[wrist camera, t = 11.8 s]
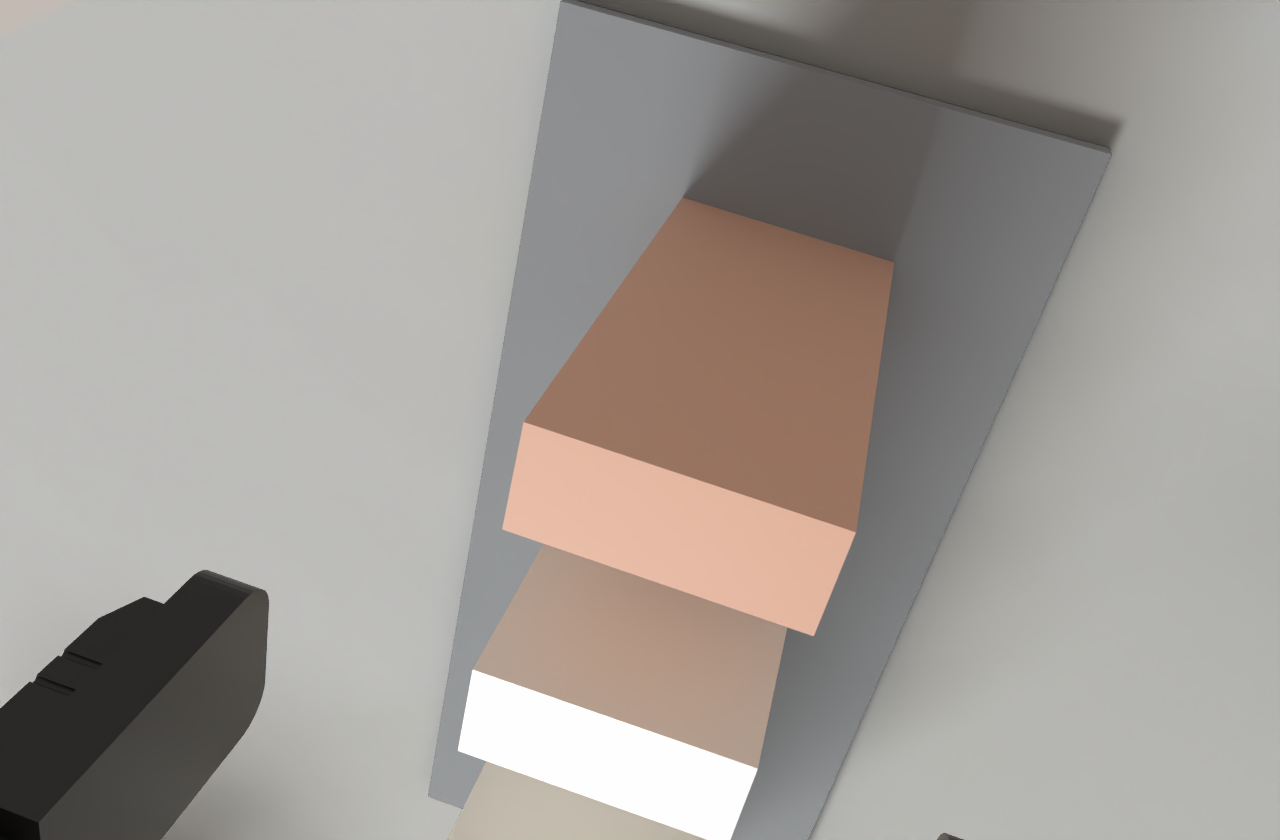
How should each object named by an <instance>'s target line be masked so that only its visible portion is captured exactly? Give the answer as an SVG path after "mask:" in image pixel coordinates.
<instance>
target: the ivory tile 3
mask: <svg viewBox="0 0 1280 840" xmlns="http://www.w3.org/2000/svg"><path fill="white" fill-rule="evenodd" d="M447 840H707V839H704V838H702V837H699V836H696V835H693V834H690V833H687V832H685V831H682V830H679V829H676V828H673V827H671V826H668V825H665V824H662V823H659V822H657V821H654V820H651V819H648V818H645V817H643V816H640V815H637V814H634V813H631V812H628V811H626V810H623V809H620V808H617V807H614V806H612V805H609V804H606V803H603V802H600V801H598V800H595V799H592V798H589V797H586V796H584V795H581V794H578V793H575V792H572V791H570V790H567V789H564V788H561V787H558V786H555V785H553V784H550V783H547V782H544V781H541V780H539V779H536V778H533V777H530V776H527V775H525V774H522V773H519V772H516V771H513V770H511V769H508V768H505V767H502V766H499V765H496V764H494V763H491V762H488V761H486V763H485V765H484V767H483V769H482V771H481V773H480V775H479V777H478V779H477V781H476V783H475V785H474V787H473V789H472V791H471V793H470V795H469V797H468V799H467V801H466V803H465V805H464V807H463V809H462V811H461V813H460V815H459V817H458V819H457V821H456V823H455V825H454V827H453V829H452V831H451V833H450V835H449V837H448V839H447Z"/></svg>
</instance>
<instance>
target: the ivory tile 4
mask: <svg viewBox="0 0 1280 840" xmlns="http://www.w3.org/2000/svg"><path fill="white" fill-rule="evenodd" d="M786 631H787V627H785V626H782V625H779V624H776V623H773V622H771V621H768V620H765V619H762V618H759V617H756V616H753V615H750V614H747V613H744V612H741V611H738V610H736V609H733V608H730V607H727V606H724V605H721V604H718V603H715V602H712V601H709V600H706V599H703V598H701V597H698V596H695V595H692V594H689V593H686V592H683V591H680V590H677V589H674V588H671V587H668V586H666V585H663V584H660V583H657V582H654V581H651V580H648V579H645V578H642V577H639V576H636V575H634V574H631V573H628V572H625V571H622V570H619V569H616V568H613V567H610V566H607V565H604V564H601V563H599V562H596V561H593V560H590V559H587V558H584V557H581V556H578V555H575V554H572V553H569V552H566V551H564V550H561V549H558V548H555V547H552V546H549V545H546V544H543V546H542V547H541V549H540V551H539V553H538V554H537V556H536V558H535V560H534V562H533V563H532V565H531V567H530V569H529V570H528V572H527V574H526V576H525V578H524V579H523V581H522V583H521V585H520V586H519V588H518V590H517V592H516V593H515V595H514V597H513V599H512V601H511V602H510V604H509V606H508V608H507V609H506V611H505V613H504V615H503V617H502V618H501V620H500V622H499V624H498V625H497V627H496V629H495V631H494V633H493V634H492V636H491V638H490V640H489V641H488V643H487V645H486V647H485V648H484V650H483V652H482V654H481V656H480V657H479V659H478V661H477V663H476V664H475V666H474V668H473V670H472V676H471V681H470V687H469V692H468V698H467V703H466V709H465V714H464V720H463V725H462V731H461V736H460V742H459V747H458V751H460V752H463V753H466V754H468V755H471V756H474V757H477V758H480V759H482V760H485V761H488V762H491V763H494V764H496V765H499V766H502V767H505V768H508V769H511V770H513V771H516V772H519V773H522V774H525V775H527V776H530V777H533V778H536V779H539V780H541V781H544V782H547V783H550V784H553V785H555V786H558V787H561V788H564V789H567V790H570V791H572V792H575V793H578V794H581V795H584V796H586V797H589V798H592V799H595V800H598V801H600V802H603V803H606V804H609V805H612V806H614V807H617V808H620V809H623V810H626V811H628V812H631V813H634V814H637V815H640V816H643V817H645V818H648V819H651V820H654V821H657V822H659V823H662V824H665V825H668V826H671V827H673V828H676V829H679V830H682V831H685V832H687V833H690V834H693V835H696V836H699V837H702V838H704V839H707V840H730V839H731V837H732V834H733V831H734V829H735V826H736V824H737V821H738V819H739V816H740V813H741V811H742V808H743V806H744V803H745V801H746V798H747V795H748V793H749V790H750V788H751V785H752V783H753V780H754V777H755V775H756V772H757V770H758V766H759V761H760V756H761V751H762V746H763V742H764V737H765V732H766V727H767V722H768V718H769V713H770V708H771V703H772V698H773V694H774V689H775V684H776V679H777V674H778V670H779V665H780V660H781V655H782V650H783V646H784V641H785V636H786Z"/></svg>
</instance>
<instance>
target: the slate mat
mask: <svg viewBox="0 0 1280 840" xmlns="http://www.w3.org/2000/svg"><path fill="white" fill-rule="evenodd" d="M1111 155H1112V154H1111V152H1110V149H1109V148H1107V147H1103V146H1100V145H1096V144H1092V143H1089V142H1085V141H1082V140H1078V139H1074V138H1071V137H1067V136H1064V135H1060V134H1056V133H1053V132H1049V131H1046V130H1042V129H1038V128H1035V127H1031V126H1028V125H1024V124H1020V123H1017V122H1013V121H1010V120H1006V119H1002V118H999V117H995V116H992V115H988V114H984V113H981V112H977V111H974V110H970V109H966V108H963V107H959V106H956V105H952V104H948V103H945V102H941V101H937V100H934V99H930V98H927V97H923V96H919V95H916V94H912V93H909V92H905V91H901V90H898V89H894V88H891V87H887V86H883V85H880V84H876V83H873V82H869V81H865V80H862V79H858V78H855V77H851V76H847V75H844V74H840V73H837V72H833V71H829V70H826V69H822V68H819V67H815V66H811V65H808V64H804V63H800V62H797V61H793V60H790V59H786V58H782V57H779V56H775V55H772V54H768V53H764V52H761V51H757V50H754V49H750V48H746V47H743V46H739V45H736V44H732V43H728V42H725V41H721V40H718V39H714V38H710V37H707V36H703V35H700V34H696V33H692V32H689V31H685V30H682V29H678V28H674V27H671V26H667V25H664V24H660V23H656V22H653V21H649V20H645V19H642V18H638V17H635V16H631V15H627V14H624V13H620V12H617V11H613V10H609V9H606V8H602V7H599V6H595V5H591V4H588V3H584V2H581V1H577V0H562V1H561V2H560V8H559V14H558V20H557V26H556V32H555V38H554V44H553V50H552V56H551V62H550V68H549V73H548V79H547V85H546V91H545V97H544V103H543V109H542V115H541V121H540V127H539V133H538V139H537V145H536V151H535V157H534V163H533V169H532V175H531V181H530V187H529V193H528V199H527V205H526V211H525V217H524V223H523V229H522V235H521V241H520V247H519V253H518V259H517V265H516V271H515V277H514V283H513V289H512V295H511V301H510V307H509V313H508V319H507V325H506V331H505V337H504V343H503V349H502V355H501V361H500V367H499V373H498V379H497V385H496V391H495V397H494V403H493V409H492V415H491V421H490V427H489V433H488V439H487V445H486V451H485V457H484V463H483V469H482V475H481V481H480V487H479V493H478V499H477V505H476V511H475V517H474V523H473V529H472V535H471V541H470V547H469V553H468V559H467V565H466V571H465V577H464V583H463V589H462V595H461V601H460V607H459V613H458V619H457V625H456V631H455V637H454V643H453V649H452V655H451V661H450V667H449V673H448V679H447V685H446V691H445V697H444V703H443V709H442V715H441V721H440V727H439V733H438V739H437V745H436V751H435V757H434V763H433V769H432V775H431V781H430V787H429V793H428V797H431V798H433V799H436V800H439V801H442V802H444V803H447V804H450V805H453V806H456V807H458V808H461V809H463V807H464V805H465V803H466V801H467V799H468V797H469V795H470V793H471V791H472V789H473V787H474V785H475V783H476V781H477V779H478V777H479V775H480V773H481V771H482V769H483V767H484V765H485V763H486V761H485V760H482V759H480V758H477V757H474V756H471V755H468V754H466V753H463V752H460V751H458V747H459V742H460V736H461V731H462V725H463V720H464V714H465V709H466V703H467V698H468V692H469V687H470V681H471V676H472V670H473V668H474V666H475V664H476V663H477V661H478V659H479V657H480V656H481V654H482V652H483V650H484V648H485V647H486V645H487V643H488V641H489V640H490V638H491V636H492V634H493V633H494V631H495V629H496V627H497V625H498V624H499V622H500V620H501V618H502V617H503V615H504V613H505V611H506V609H507V608H508V606H509V604H510V602H511V601H512V599H513V597H514V595H515V593H516V592H517V590H518V588H519V586H520V585H521V583H522V581H523V579H524V578H525V576H526V574H527V572H528V570H529V569H530V567H531V565H532V563H533V562H534V560H535V558H536V556H537V554H538V553H539V551H540V549H541V547H542V546H543V543H540V542H537V541H534V540H531V539H529V538H526V537H523V536H520V535H517V534H514V533H511V532H508V531H505V530H502V527H503V522H504V517H505V512H506V507H507V502H508V497H509V492H510V487H511V482H512V477H513V472H514V467H515V462H516V457H517V452H518V447H519V442H520V437H521V432H522V427H523V422H524V421H525V419H526V418H527V416H528V415H529V413H530V412H531V411H532V409H533V408H534V406H535V405H536V404H537V402H538V401H539V399H540V398H541V397H542V395H543V394H544V392H545V391H546V389H547V388H548V387H549V385H550V384H551V382H552V381H553V380H554V378H555V377H556V375H557V374H558V373H559V371H560V370H561V368H562V367H563V365H564V364H565V363H566V361H567V360H568V358H569V357H570V356H571V354H572V353H573V351H574V350H575V348H576V347H577V346H578V344H579V343H580V341H581V340H582V339H583V337H584V336H585V334H586V333H587V332H588V330H589V329H590V327H591V326H592V324H593V323H594V322H595V320H596V319H597V317H598V316H599V315H600V313H601V312H602V310H603V309H604V308H605V306H606V305H607V303H608V302H609V300H610V299H611V298H612V296H613V295H614V293H615V292H616V291H617V289H618V288H619V286H620V285H621V284H622V282H623V281H624V279H625V278H626V276H627V275H628V274H629V272H630V271H631V269H632V268H633V267H634V265H635V264H636V262H637V261H638V259H639V258H640V257H641V255H642V254H643V252H644V251H645V250H646V248H647V247H648V245H649V244H650V243H651V241H652V240H653V238H654V237H655V235H656V234H657V233H658V231H659V230H660V228H661V227H662V226H663V224H664V223H665V221H666V220H667V219H668V217H669V216H670V214H671V213H672V211H673V210H674V209H675V207H676V206H677V204H678V203H679V202H680V200H681V199H682V198H686V199H689V200H692V201H695V202H699V203H702V204H705V205H709V206H712V207H715V208H718V209H722V210H725V211H728V212H731V213H735V214H738V215H741V216H744V217H748V218H751V219H754V220H757V221H761V222H764V223H767V224H771V225H774V226H777V227H780V228H784V229H787V230H790V231H793V232H797V233H800V234H803V235H806V236H810V237H813V238H816V239H819V240H823V241H826V242H829V243H832V244H836V245H839V246H842V247H846V248H849V249H852V250H855V251H859V252H862V253H865V254H868V255H872V256H875V257H878V258H881V259H885V260H888V261H891V262H894V267H893V274H892V281H891V288H890V296H889V303H888V310H887V317H886V324H885V331H884V338H883V345H882V352H881V359H880V366H879V374H878V381H877V388H876V395H875V402H874V409H873V416H872V423H871V430H870V437H869V445H868V452H867V459H866V466H865V473H864V480H863V487H862V494H861V501H860V508H859V515H858V523H857V530H856V534H855V536H854V539H853V541H852V544H851V546H850V549H849V551H848V554H847V556H846V558H845V561H844V563H843V566H842V568H841V571H840V573H839V576H838V578H837V580H836V583H835V585H834V588H833V590H832V593H831V595H830V598H829V600H828V602H827V605H826V607H825V610H824V612H823V615H822V617H821V620H820V622H819V624H818V627H817V629H816V632H815V634H814V636H811V635H808V634H806V633H803V632H800V631H797V630H794V629H791V628H788V627H787V631H786V636H785V641H784V646H783V650H782V655H781V660H780V665H779V670H778V674H777V679H776V684H775V689H774V694H773V698H772V703H771V708H770V713H769V718H768V722H767V727H766V732H765V737H764V742H763V746H762V751H761V756H760V761H759V766H758V770H757V772H756V775H755V777H754V780H753V783H752V785H751V788H750V790H749V793H748V795H747V798H746V801H745V803H744V806H743V808H742V811H741V813H740V816H739V819H738V821H737V824H736V826H735V829H734V831H733V834H732V837H731V839H730V840H808V838H809V836H810V834H811V832H812V829H813V827H814V825H815V823H816V820H817V818H818V816H819V814H820V811H821V809H822V807H823V805H824V802H825V800H826V798H827V796H828V793H829V791H830V789H831V787H832V784H833V782H834V780H835V778H836V775H837V773H838V771H839V769H840V766H841V764H842V762H843V760H844V757H845V755H846V753H847V750H848V748H849V746H850V744H851V741H852V739H853V737H854V735H855V732H856V730H857V728H858V726H859V723H860V721H861V719H862V717H863V714H864V712H865V710H866V708H867V705H868V703H869V701H870V699H871V696H872V694H873V692H874V690H875V687H876V685H877V683H878V681H879V678H880V676H881V674H882V672H883V669H884V667H885V665H886V663H887V660H888V658H889V656H890V653H891V651H892V649H893V647H894V644H895V642H896V640H897V638H898V635H899V633H900V631H901V629H902V626H903V624H904V622H905V620H906V617H907V615H908V613H909V611H910V608H911V606H912V604H913V602H914V599H915V597H916V595H917V593H918V590H919V588H920V586H921V584H922V581H923V579H924V577H925V575H926V572H927V570H928V568H929V565H930V563H931V561H932V559H933V556H934V554H935V552H936V550H937V547H938V545H939V543H940V541H941V538H942V536H943V534H944V532H945V529H946V527H947V525H948V523H949V520H950V518H951V516H952V514H953V511H954V509H955V507H956V505H957V502H958V500H959V498H960V496H961V493H962V491H963V489H964V487H965V484H966V482H967V480H968V477H969V475H970V473H971V471H972V468H973V466H974V464H975V462H976V459H977V457H978V455H979V453H980V450H981V448H982V446H983V444H984V441H985V439H986V437H987V435H988V432H989V430H990V428H991V426H992V423H993V421H994V419H995V417H996V414H997V412H998V410H999V408H1000V405H1001V403H1002V401H1003V399H1004V396H1005V394H1006V392H1007V389H1008V387H1009V385H1010V383H1011V380H1012V378H1013V376H1014V374H1015V371H1016V369H1017V367H1018V365H1019V362H1020V360H1021V358H1022V356H1023V353H1024V351H1025V349H1026V347H1027V344H1028V342H1029V340H1030V338H1031V335H1032V333H1033V331H1034V329H1035V326H1036V324H1037V322H1038V320H1039V317H1040V315H1041V313H1042V311H1043V308H1044V306H1045V304H1046V302H1047V299H1048V297H1049V295H1050V292H1051V290H1052V288H1053V286H1054V283H1055V281H1056V279H1057V277H1058V274H1059V272H1060V270H1061V268H1062V265H1063V263H1064V261H1065V259H1066V256H1067V254H1068V252H1069V250H1070V247H1071V245H1072V243H1073V241H1074V238H1075V236H1076V234H1077V232H1078V229H1079V227H1080V225H1081V223H1082V220H1083V218H1084V216H1085V214H1086V211H1087V209H1088V207H1089V204H1090V202H1091V200H1092V198H1093V195H1094V193H1095V191H1096V189H1097V186H1098V184H1099V182H1100V180H1101V177H1102V175H1103V173H1104V171H1105V168H1106V166H1107V164H1108V162H1109V159H1110V157H1111Z"/></svg>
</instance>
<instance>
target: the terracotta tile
mask: <svg viewBox="0 0 1280 840" xmlns="http://www.w3.org/2000/svg"><path fill="white" fill-rule="evenodd" d="M893 267H894V262H891V261H888V260H885V259H881V258H878V257H875V256H872V255H868V254H865V253H862V252H859V251H855V250H852V249H849V248H846V247H842V246H839V245H836V244H832V243H829V242H826V241H823V240H819V239H816V238H813V237H810V236H806V235H803V234H800V233H797V232H793V231H790V230H787V229H784V228H780V227H777V226H774V225H771V224H767V223H764V222H761V221H757V220H754V219H751V218H748V217H744V216H741V215H738V214H735V213H731V212H728V211H725V210H722V209H718V208H715V207H712V206H709V205H705V204H702V203H699V202H695V201H692V200H689V199H686V198H682V199H681V200H680V202H679V203H678V204H677V206H676V207H675V209H674V210H673V211H672V213H671V214H670V216H669V217H668V219H667V220H666V221H665V223H664V224H663V226H662V227H661V228H660V230H659V231H658V233H657V234H656V235H655V237H654V238H653V240H652V241H651V243H650V244H649V245H648V247H647V248H646V250H645V251H644V252H643V254H642V255H641V257H640V258H639V259H638V261H637V262H636V264H635V265H634V267H633V268H632V269H631V271H630V272H629V274H628V275H627V276H626V278H625V279H624V281H623V282H622V284H621V285H620V286H619V288H618V289H617V291H616V292H615V293H614V295H613V296H612V298H611V299H610V300H609V302H608V303H607V305H606V306H605V308H604V309H603V310H602V312H601V313H600V315H599V316H598V317H597V319H596V320H595V322H594V323H593V324H592V326H591V327H590V329H589V330H588V332H587V333H586V334H585V336H584V337H583V339H582V340H581V341H580V343H579V344H578V346H577V347H576V348H575V350H574V351H573V353H572V354H571V356H570V357H569V358H568V360H567V361H566V363H565V364H564V365H563V367H562V368H561V370H560V371H559V373H558V374H557V375H556V377H555V378H554V380H553V381H552V382H551V384H550V385H549V387H548V388H547V389H546V391H545V392H544V394H543V395H542V397H541V398H540V399H539V401H538V402H537V404H536V405H535V406H534V408H533V409H532V411H531V412H530V413H529V415H528V416H527V418H526V419H525V421H524V422H523V427H522V432H521V437H520V442H519V447H518V452H517V457H516V462H515V467H514V472H513V477H512V482H511V487H510V492H509V497H508V502H507V507H506V512H505V517H504V522H503V527H502V530H505V531H508V532H511V533H514V534H517V535H520V536H523V537H526V538H529V539H531V540H534V541H537V542H540V543H543V544H546V545H549V546H552V547H555V548H558V549H561V550H564V551H566V552H569V553H572V554H575V555H578V556H581V557H584V558H587V559H590V560H593V561H596V562H599V563H601V564H604V565H607V566H610V567H613V568H616V569H619V570H622V571H625V572H628V573H631V574H634V575H636V576H639V577H642V578H645V579H648V580H651V581H654V582H657V583H660V584H663V585H666V586H668V587H671V588H674V589H677V590H680V591H683V592H686V593H689V594H692V595H695V596H698V597H701V598H703V599H706V600H709V601H712V602H715V603H718V604H721V605H724V606H727V607H730V608H733V609H736V610H738V611H741V612H744V613H747V614H750V615H753V616H756V617H759V618H762V619H765V620H768V621H771V622H773V623H776V624H779V625H782V626H785V627H788V628H791V629H794V630H797V631H800V632H803V633H806V634H808V635H811V636H814V634H815V632H816V629H817V627H818V624H819V622H820V620H821V617H822V615H823V612H824V610H825V607H826V605H827V602H828V600H829V598H830V595H831V593H832V590H833V588H834V585H835V583H836V580H837V578H838V576H839V573H840V571H841V568H842V566H843V563H844V561H845V558H846V556H847V554H848V551H849V549H850V546H851V544H852V541H853V539H854V536H855V534H856V530H857V523H858V515H859V508H860V501H861V494H862V487H863V480H864V473H865V466H866V459H867V452H868V445H869V437H870V430H871V423H872V416H873V409H874V402H875V395H876V388H877V381H878V374H879V366H880V359H881V352H882V345H883V338H884V331H885V324H886V317H887V310H888V303H889V296H890V288H891V281H892V274H893Z"/></svg>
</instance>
